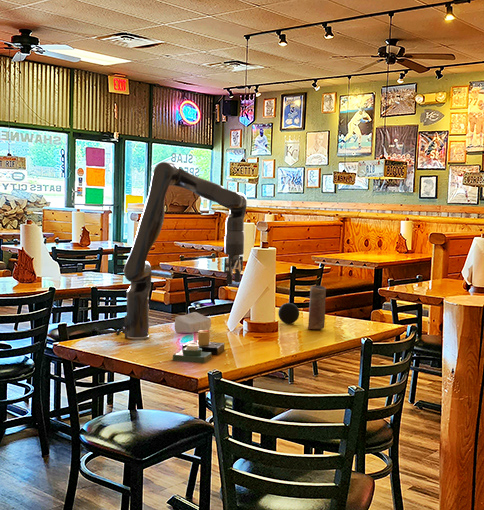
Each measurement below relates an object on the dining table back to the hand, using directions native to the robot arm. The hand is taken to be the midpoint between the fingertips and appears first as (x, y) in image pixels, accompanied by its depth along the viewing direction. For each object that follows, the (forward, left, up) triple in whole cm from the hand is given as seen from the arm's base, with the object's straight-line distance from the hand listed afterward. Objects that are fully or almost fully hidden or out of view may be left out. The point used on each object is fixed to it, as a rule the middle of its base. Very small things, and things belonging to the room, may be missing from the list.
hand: (233, 283), depth 277 cm
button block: (-8, -26, -26) cm, 38 cm away
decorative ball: (+12, +62, -26) cm, 68 cm away
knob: (-8, -12, -23) cm, 27 cm away
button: (-8, -26, -22) cm, 35 cm away
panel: (-8, -12, -26) cm, 30 cm away
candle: (+27, +51, -26) cm, 63 cm away
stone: (-26, +28, -26) cm, 46 cm away
